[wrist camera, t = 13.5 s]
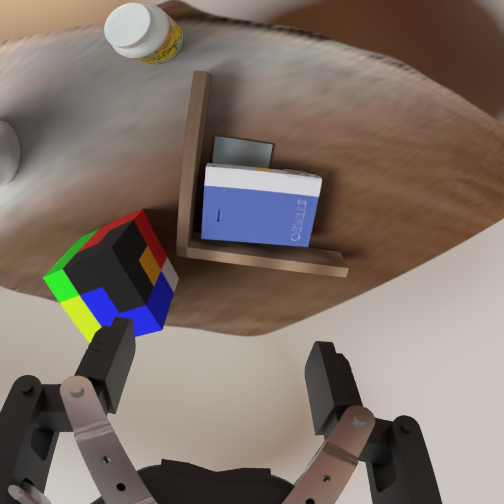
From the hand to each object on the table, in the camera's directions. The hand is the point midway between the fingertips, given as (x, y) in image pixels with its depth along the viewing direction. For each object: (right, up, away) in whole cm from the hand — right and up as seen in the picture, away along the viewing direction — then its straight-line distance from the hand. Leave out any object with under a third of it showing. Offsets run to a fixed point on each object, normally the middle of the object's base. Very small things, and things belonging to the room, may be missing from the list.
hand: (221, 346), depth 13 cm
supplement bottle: (-8, +26, +13) cm, 30 cm away
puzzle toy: (-14, +4, +25) cm, 29 cm away
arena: (+4, +13, +20) cm, 24 cm away
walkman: (-4, +10, +19) cm, 22 cm away
